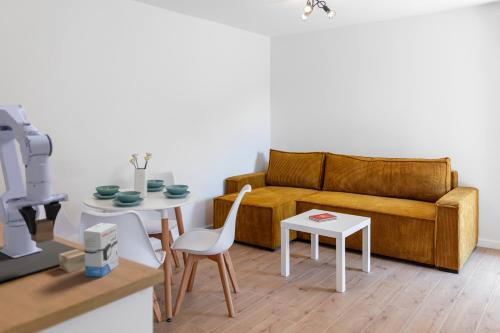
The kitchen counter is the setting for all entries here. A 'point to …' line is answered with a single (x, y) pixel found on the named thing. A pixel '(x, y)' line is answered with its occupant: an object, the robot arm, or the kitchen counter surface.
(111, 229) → the ink box
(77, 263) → the base block
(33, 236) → the walnut block
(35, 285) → the kitchen counter surface
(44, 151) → the robot arm
